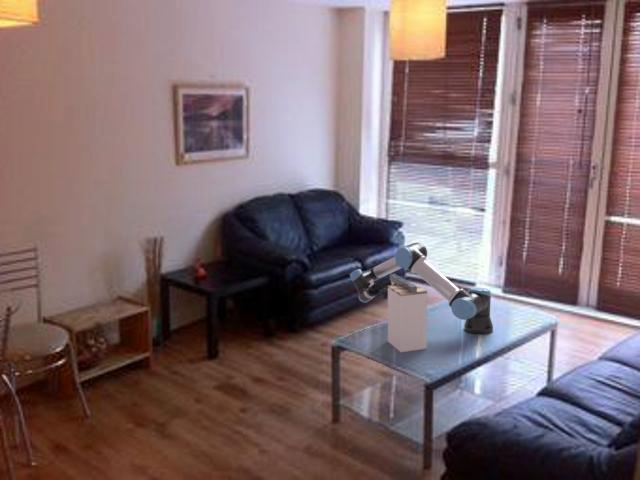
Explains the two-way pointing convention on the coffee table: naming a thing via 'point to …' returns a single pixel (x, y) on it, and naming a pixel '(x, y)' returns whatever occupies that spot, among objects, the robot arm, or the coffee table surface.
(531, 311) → the coffee table surface
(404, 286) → the metal bar
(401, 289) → the pedestal
